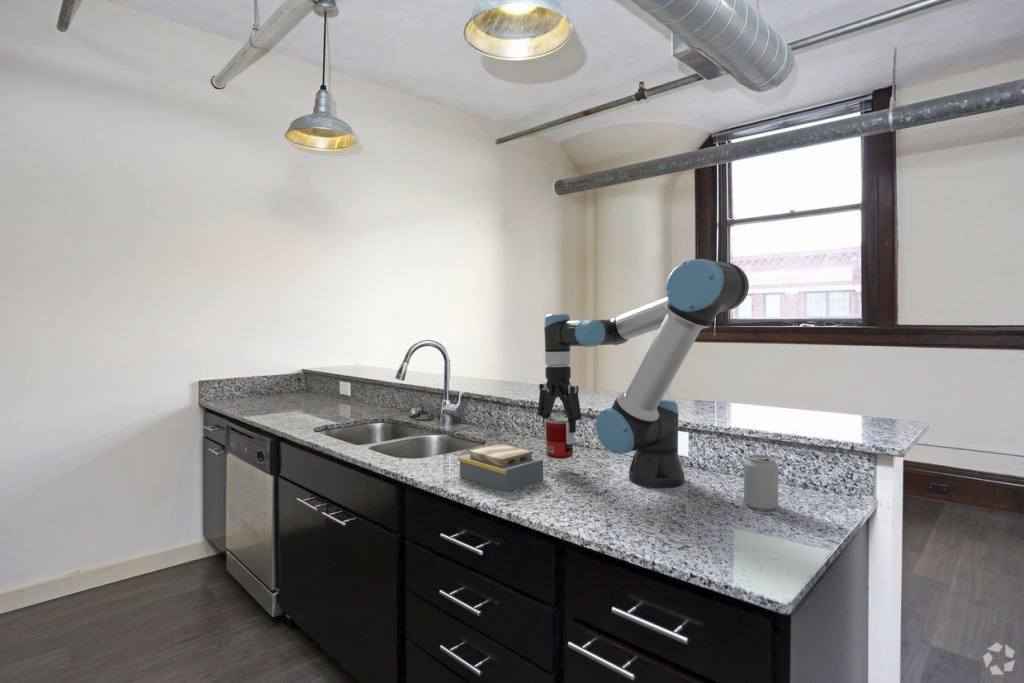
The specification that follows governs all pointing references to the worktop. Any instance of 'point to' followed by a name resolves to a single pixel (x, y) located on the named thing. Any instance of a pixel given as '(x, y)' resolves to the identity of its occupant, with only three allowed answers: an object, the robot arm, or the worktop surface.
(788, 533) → the worktop surface
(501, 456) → the pallet
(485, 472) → the dock
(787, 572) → the worktop surface
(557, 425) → the canned food
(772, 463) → the can
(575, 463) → the worktop surface
